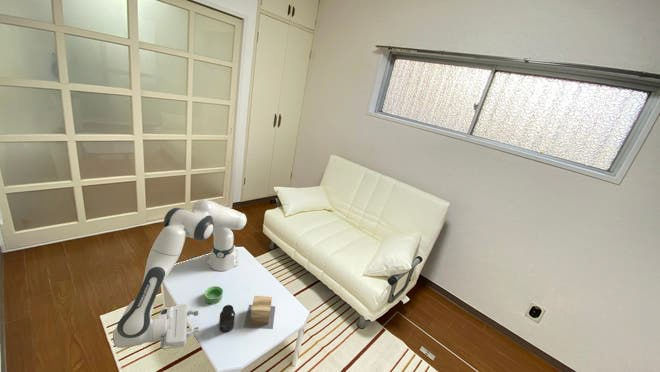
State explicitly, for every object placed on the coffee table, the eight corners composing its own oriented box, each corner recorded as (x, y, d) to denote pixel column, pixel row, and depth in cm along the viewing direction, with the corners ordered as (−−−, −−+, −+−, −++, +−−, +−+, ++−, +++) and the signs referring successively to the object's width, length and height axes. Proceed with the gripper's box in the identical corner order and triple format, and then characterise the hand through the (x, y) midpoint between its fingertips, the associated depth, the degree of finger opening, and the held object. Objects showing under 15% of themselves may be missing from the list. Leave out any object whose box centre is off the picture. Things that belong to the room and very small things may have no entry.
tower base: (253, 308, 140) (253, 302, 138) (270, 309, 141) (271, 303, 140) (249, 323, 132) (250, 316, 130) (268, 324, 133) (269, 317, 131)
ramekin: (203, 294, 143) (203, 288, 142) (221, 290, 148) (221, 284, 146) (205, 307, 136) (205, 300, 134) (223, 302, 141) (224, 296, 139)
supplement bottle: (219, 334, 124) (219, 316, 119) (218, 322, 129) (219, 304, 125) (234, 331, 126) (236, 313, 122) (233, 319, 132) (234, 301, 128)
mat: (249, 305, 142) (249, 304, 142) (275, 306, 144) (275, 306, 144) (243, 328, 129) (243, 327, 129) (272, 329, 131) (272, 328, 131)
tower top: (253, 302, 138) (254, 295, 137) (271, 303, 140) (272, 296, 138) (250, 316, 130) (251, 309, 128) (269, 317, 131) (270, 311, 130)
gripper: (159, 344, 103) (199, 335, 109) (163, 304, 120) (198, 298, 126) (160, 356, 105) (198, 346, 112) (164, 315, 122) (197, 308, 128)
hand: (198, 320), depth 119 cm, fingers open, 8 cm apart
